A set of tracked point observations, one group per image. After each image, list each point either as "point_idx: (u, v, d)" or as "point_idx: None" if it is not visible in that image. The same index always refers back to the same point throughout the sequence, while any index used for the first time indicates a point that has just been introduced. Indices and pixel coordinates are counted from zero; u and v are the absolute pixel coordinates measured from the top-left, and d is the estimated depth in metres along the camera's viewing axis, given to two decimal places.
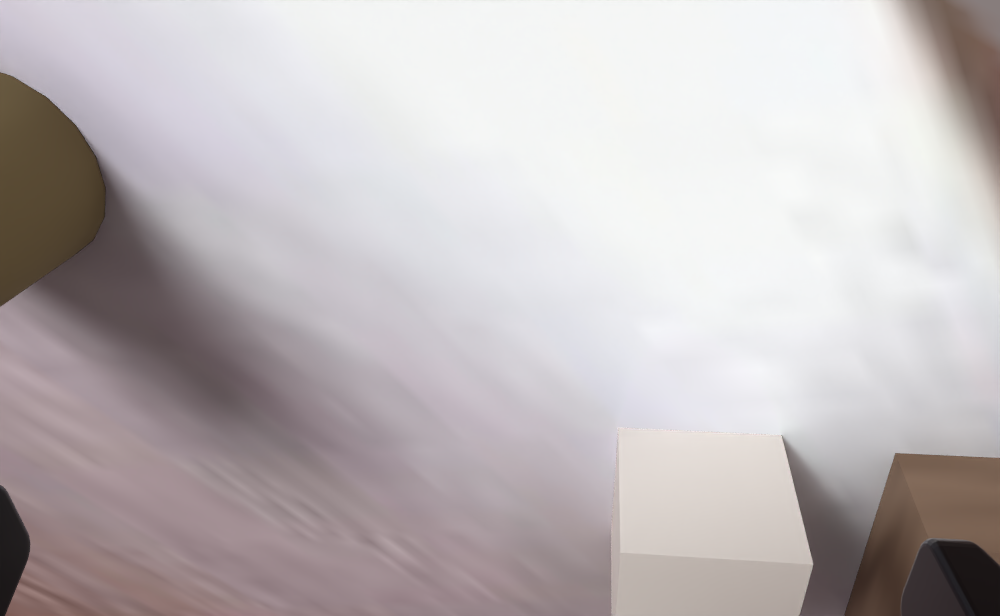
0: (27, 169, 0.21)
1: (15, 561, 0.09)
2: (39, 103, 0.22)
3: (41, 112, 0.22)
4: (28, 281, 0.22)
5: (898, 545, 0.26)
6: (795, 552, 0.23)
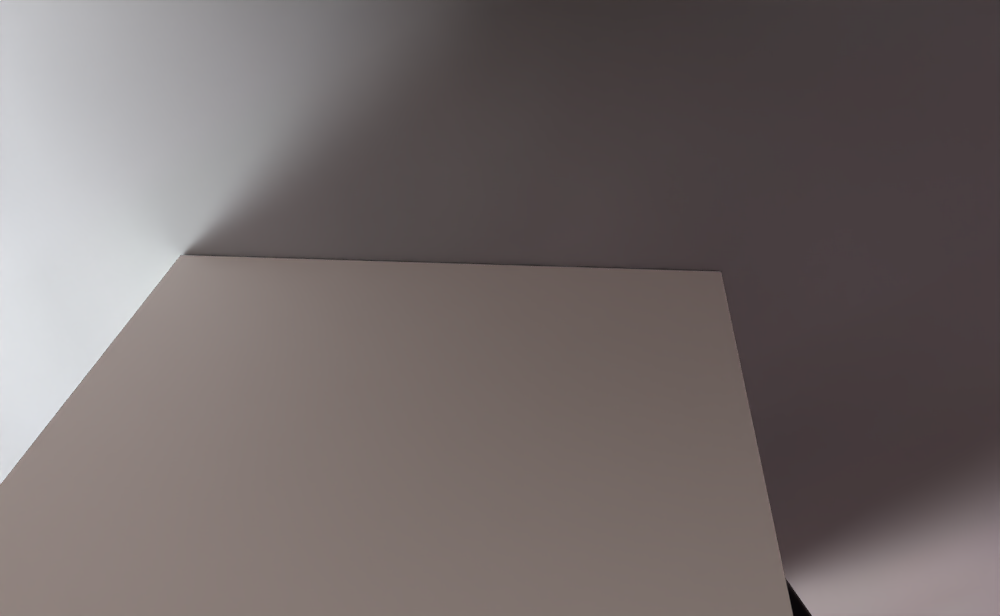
0: None
1: None
2: None
3: None
4: None
5: None
6: None
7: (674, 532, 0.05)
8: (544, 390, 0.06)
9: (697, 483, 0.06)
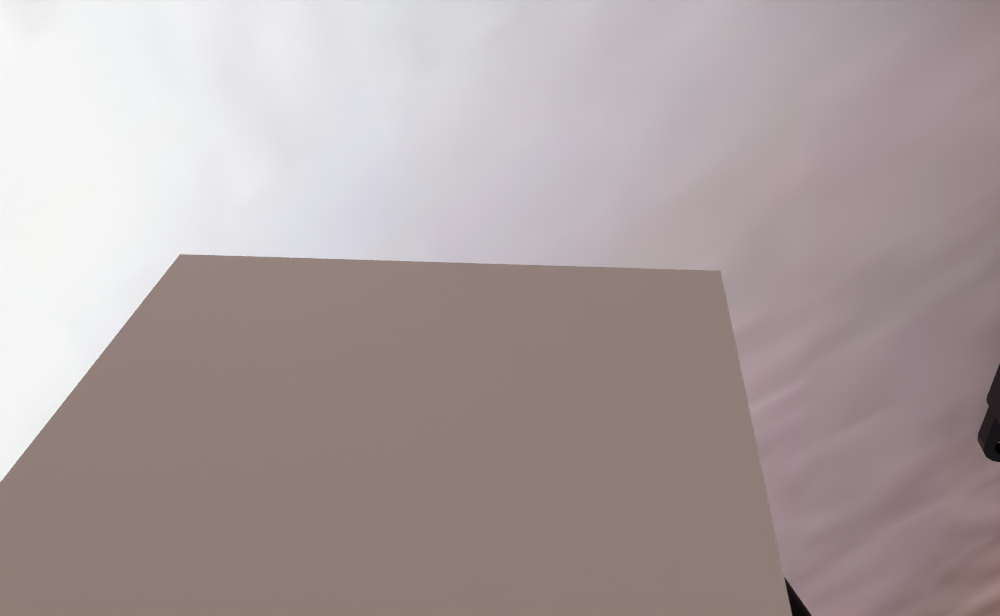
0: None
1: None
2: None
3: None
4: None
5: None
6: None
7: (672, 530, 0.05)
8: (543, 390, 0.06)
9: (695, 481, 0.06)
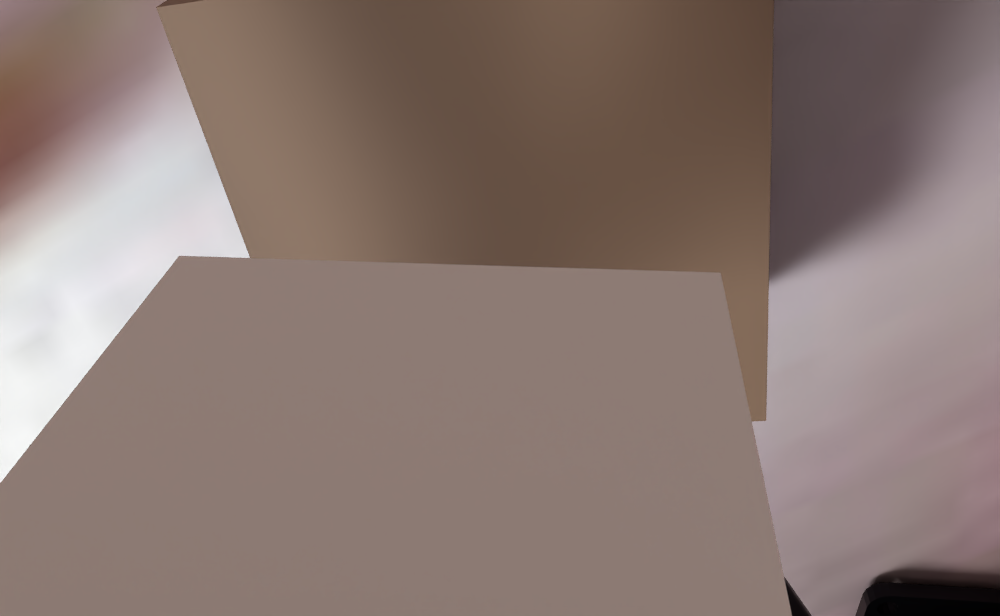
0: None
1: None
2: None
3: None
4: None
5: None
6: None
7: (673, 534, 0.05)
8: (543, 393, 0.06)
9: (695, 483, 0.06)
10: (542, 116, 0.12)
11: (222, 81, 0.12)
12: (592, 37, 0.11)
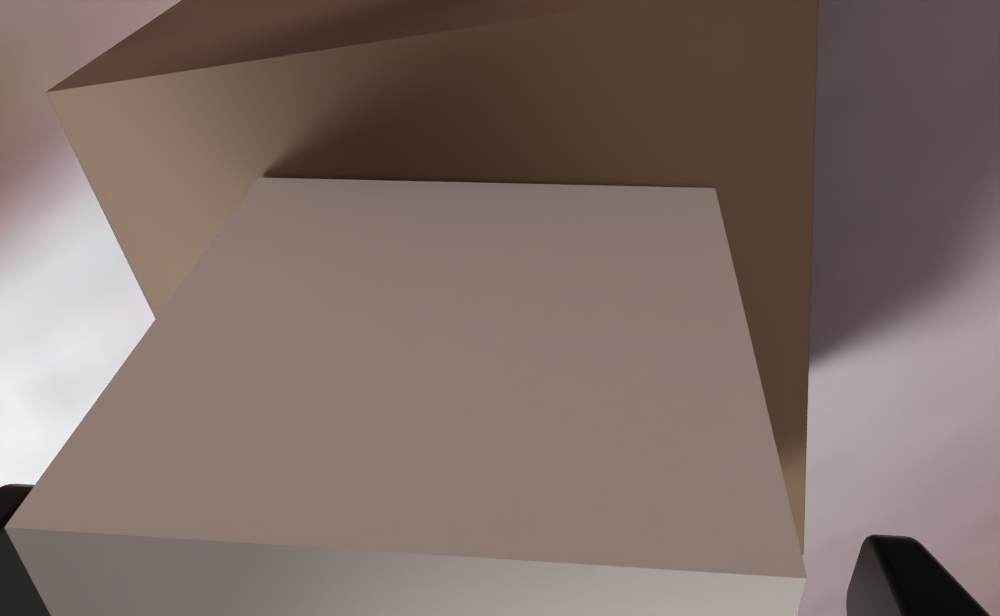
0: None
1: None
2: None
3: None
4: None
5: None
6: None
7: (679, 362, 0.07)
8: (572, 271, 0.08)
9: (695, 331, 0.07)
10: None
11: (133, 177, 0.10)
12: (584, 124, 0.09)
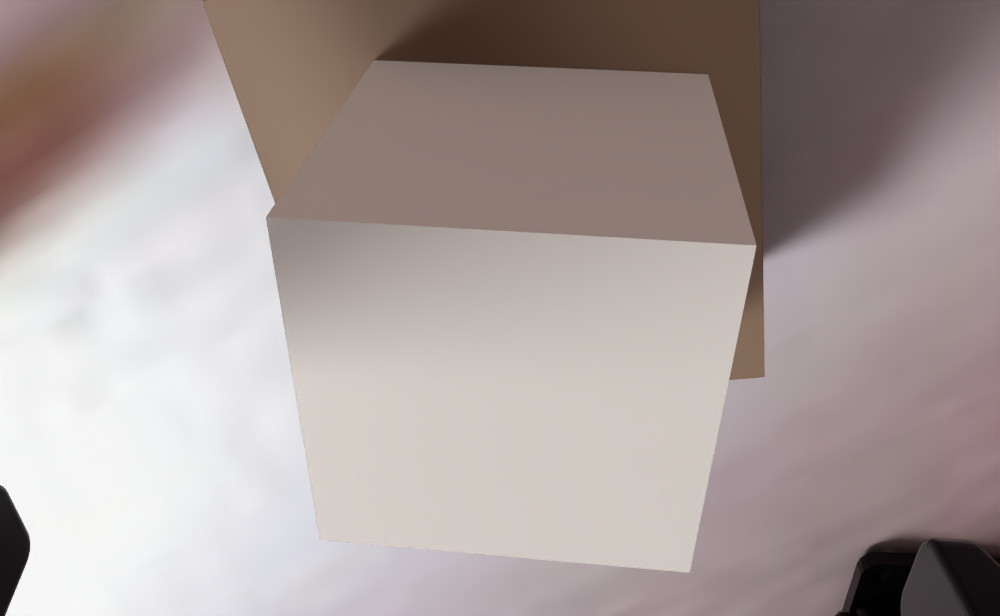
0: None
1: (15, 561, 0.09)
2: None
3: None
4: None
5: None
6: None
7: (681, 158, 0.10)
8: (608, 114, 0.11)
9: (692, 144, 0.10)
10: None
11: (261, 67, 0.13)
12: (595, 19, 0.12)
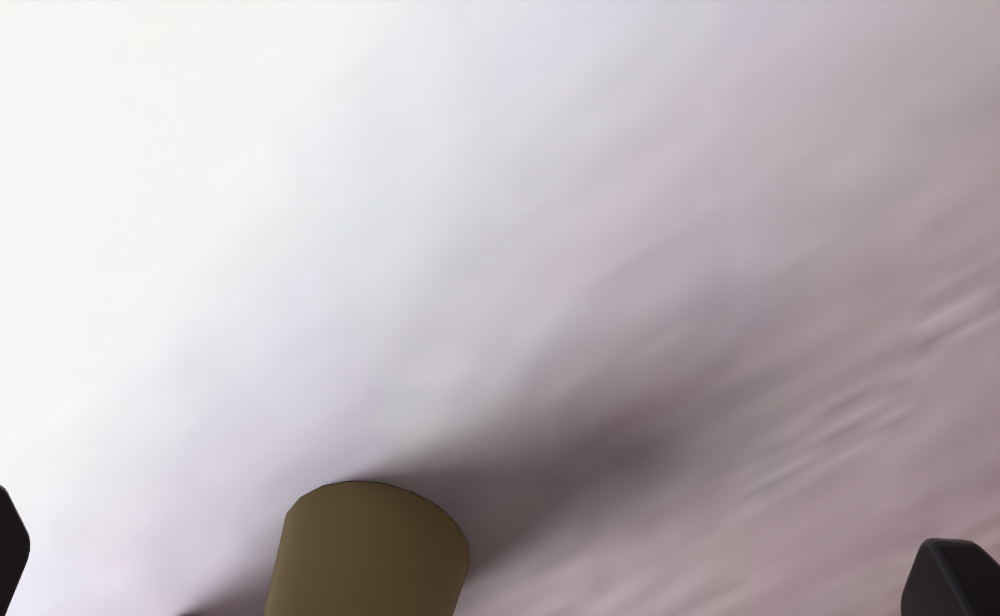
0: (311, 547, 0.24)
1: (15, 561, 0.09)
2: (298, 506, 0.26)
3: (301, 508, 0.26)
4: (405, 589, 0.24)
5: None
6: None
7: None
8: None
9: None
10: None
11: None
12: None
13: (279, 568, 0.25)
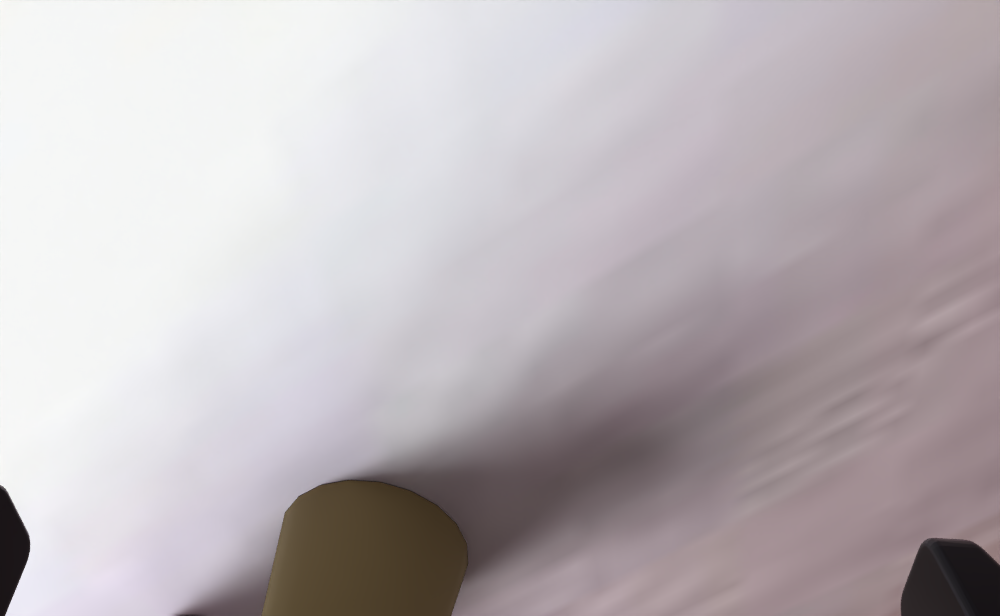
0: (310, 546, 0.24)
1: (15, 561, 0.09)
2: (296, 505, 0.26)
3: (299, 507, 0.26)
4: (404, 588, 0.24)
5: None
6: None
7: None
8: None
9: None
10: None
11: None
12: None
13: (277, 567, 0.25)
